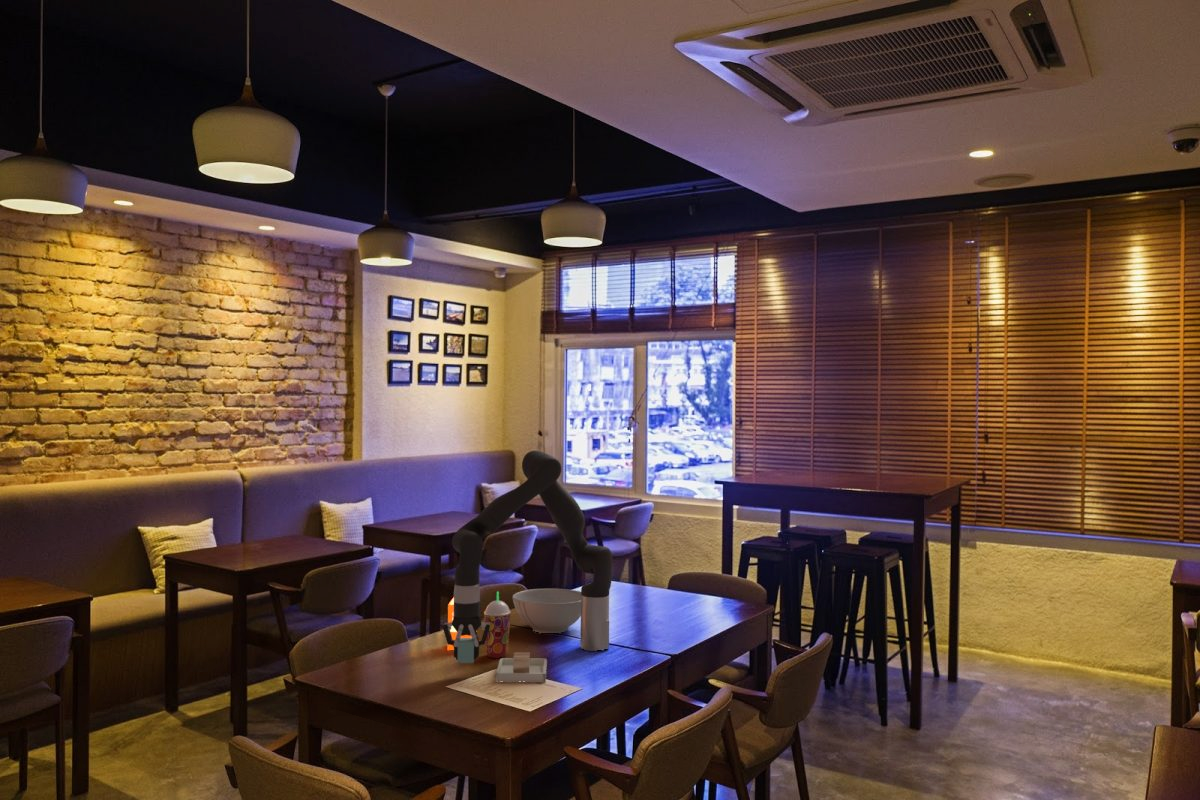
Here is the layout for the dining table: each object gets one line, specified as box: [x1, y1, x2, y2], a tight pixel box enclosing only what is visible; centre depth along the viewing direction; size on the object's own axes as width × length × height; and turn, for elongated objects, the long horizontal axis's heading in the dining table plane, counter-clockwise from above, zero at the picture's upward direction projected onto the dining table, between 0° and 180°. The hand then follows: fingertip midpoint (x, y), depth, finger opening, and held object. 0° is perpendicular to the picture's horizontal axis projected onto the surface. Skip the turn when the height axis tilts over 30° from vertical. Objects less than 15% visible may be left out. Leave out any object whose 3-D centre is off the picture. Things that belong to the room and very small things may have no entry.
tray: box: [495, 657, 548, 683], centre depth 257 cm, size 14×16×2 cm
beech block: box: [513, 651, 531, 673], centre depth 253 cm, size 4×4×6 cm
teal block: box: [457, 638, 475, 664], centre depth 254 cm, size 4×4×6 cm
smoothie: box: [483, 591, 512, 659], centre depth 276 cm, size 8×8×20 cm
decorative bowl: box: [512, 588, 581, 634], centre depth 311 cm, size 27×27×12 cm
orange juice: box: [446, 596, 472, 651], centre depth 286 cm, size 8×9×20 cm
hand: (466, 658), depth 253 cm, fingers closed on teal block, 4 cm apart
